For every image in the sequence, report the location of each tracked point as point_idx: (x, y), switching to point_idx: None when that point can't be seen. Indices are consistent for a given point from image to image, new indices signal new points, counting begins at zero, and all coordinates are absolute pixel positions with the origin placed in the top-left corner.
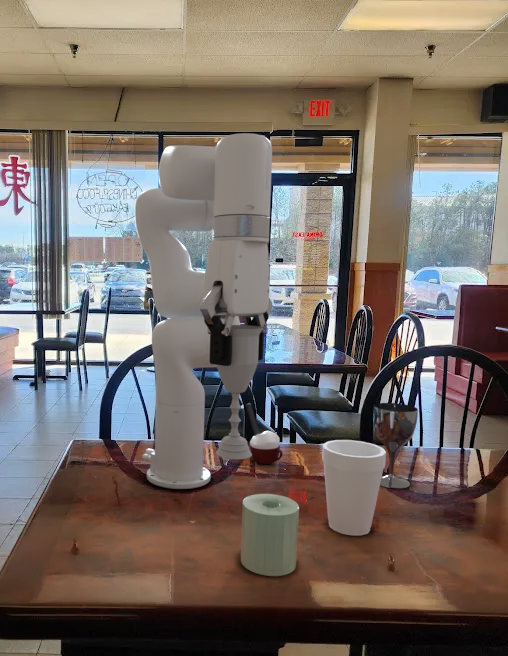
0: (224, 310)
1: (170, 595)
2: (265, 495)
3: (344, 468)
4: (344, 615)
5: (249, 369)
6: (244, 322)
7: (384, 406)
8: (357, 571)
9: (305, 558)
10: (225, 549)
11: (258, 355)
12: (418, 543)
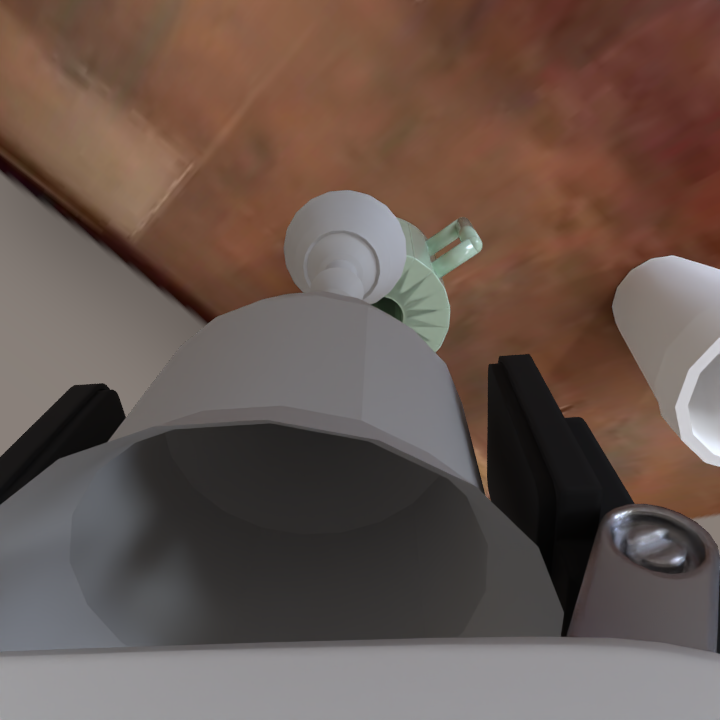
0: (191, 695)
1: (145, 222)
2: (419, 278)
3: (658, 390)
4: None
5: (293, 508)
6: (580, 596)
7: None
8: (471, 392)
9: (450, 310)
10: (360, 172)
11: (490, 496)
12: (661, 420)
